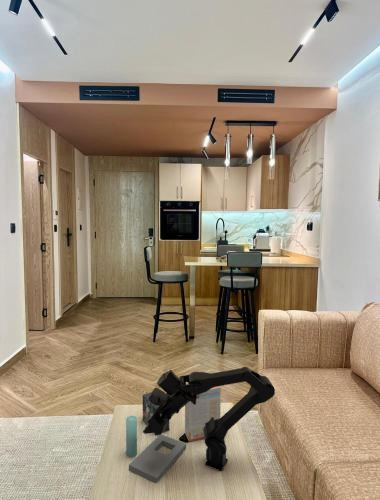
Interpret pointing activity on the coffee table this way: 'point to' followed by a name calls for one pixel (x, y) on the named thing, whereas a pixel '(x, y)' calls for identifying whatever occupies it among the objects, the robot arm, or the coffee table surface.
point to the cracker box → (202, 413)
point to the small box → (151, 411)
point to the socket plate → (157, 458)
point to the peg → (131, 436)
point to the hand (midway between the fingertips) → (148, 424)
